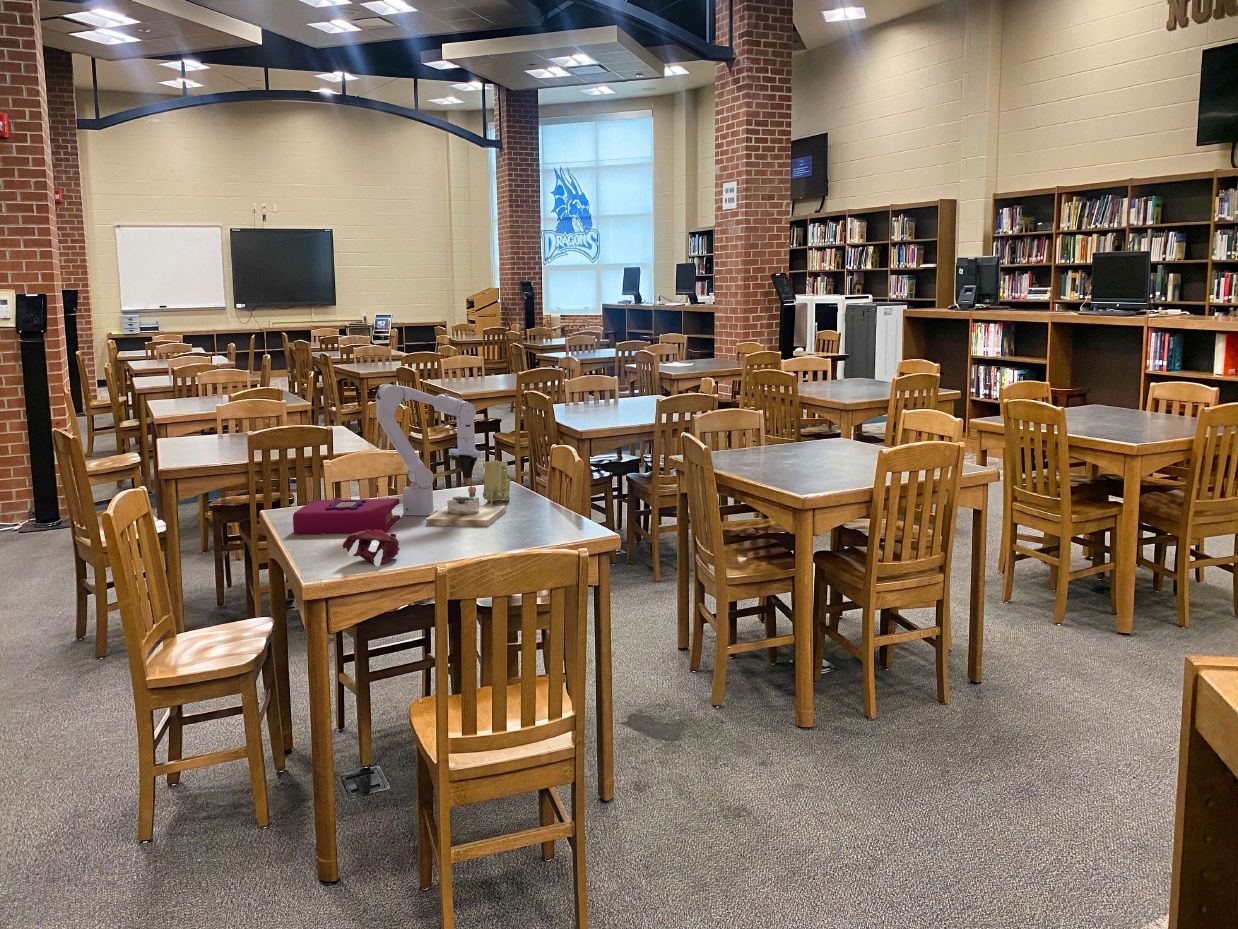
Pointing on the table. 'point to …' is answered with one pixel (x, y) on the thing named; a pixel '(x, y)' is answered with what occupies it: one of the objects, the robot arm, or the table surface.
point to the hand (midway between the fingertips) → (467, 477)
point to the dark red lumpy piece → (372, 546)
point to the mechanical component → (496, 481)
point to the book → (345, 516)
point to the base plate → (467, 517)
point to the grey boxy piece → (464, 504)
